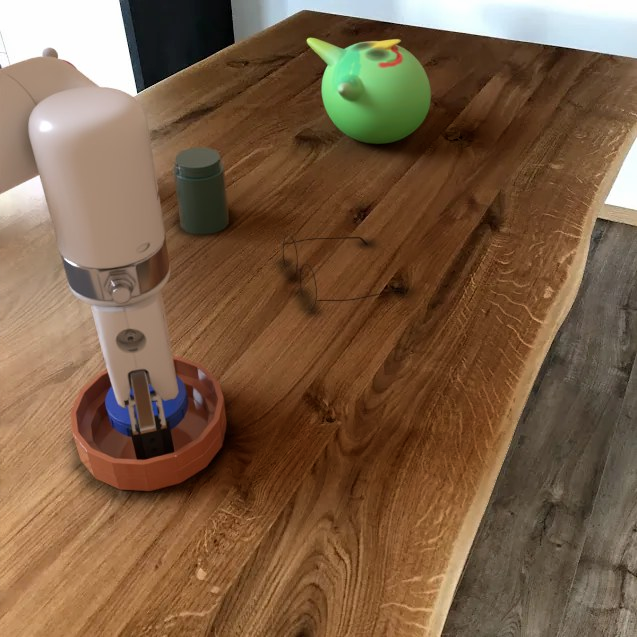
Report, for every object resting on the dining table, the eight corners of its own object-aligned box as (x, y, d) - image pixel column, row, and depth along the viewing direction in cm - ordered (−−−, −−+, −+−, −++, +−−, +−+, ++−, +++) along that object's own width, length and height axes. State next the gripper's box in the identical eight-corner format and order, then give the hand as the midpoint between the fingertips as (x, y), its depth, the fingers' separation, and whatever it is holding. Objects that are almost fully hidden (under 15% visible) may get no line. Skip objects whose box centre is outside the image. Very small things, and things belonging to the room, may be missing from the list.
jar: (176, 235, 92) (166, 168, 86) (186, 210, 97) (177, 144, 91) (224, 237, 92) (218, 170, 86) (232, 211, 97) (226, 146, 91)
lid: (194, 384, 67) (192, 370, 66) (178, 440, 62) (176, 427, 60) (120, 380, 67) (117, 366, 66) (98, 436, 62) (95, 422, 61)
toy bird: (444, 152, 110) (456, 54, 100) (340, 170, 105) (342, 70, 96) (394, 106, 123) (401, 15, 113) (299, 120, 118) (298, 27, 109)
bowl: (60, 490, 62) (49, 459, 59) (104, 382, 72) (96, 352, 69) (212, 498, 61) (207, 467, 59) (235, 388, 71) (232, 358, 69)
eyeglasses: (365, 241, 91) (367, 206, 88) (409, 300, 82) (412, 263, 79) (279, 259, 88) (277, 224, 85) (314, 322, 79) (314, 285, 76)
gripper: (184, 323, 49) (208, 490, 60) (154, 196, 61) (179, 353, 73) (67, 344, 47) (115, 511, 58) (61, 208, 60) (102, 367, 71)
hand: (150, 422), depth 65 cm, fingers closed on lid, 6 cm apart
